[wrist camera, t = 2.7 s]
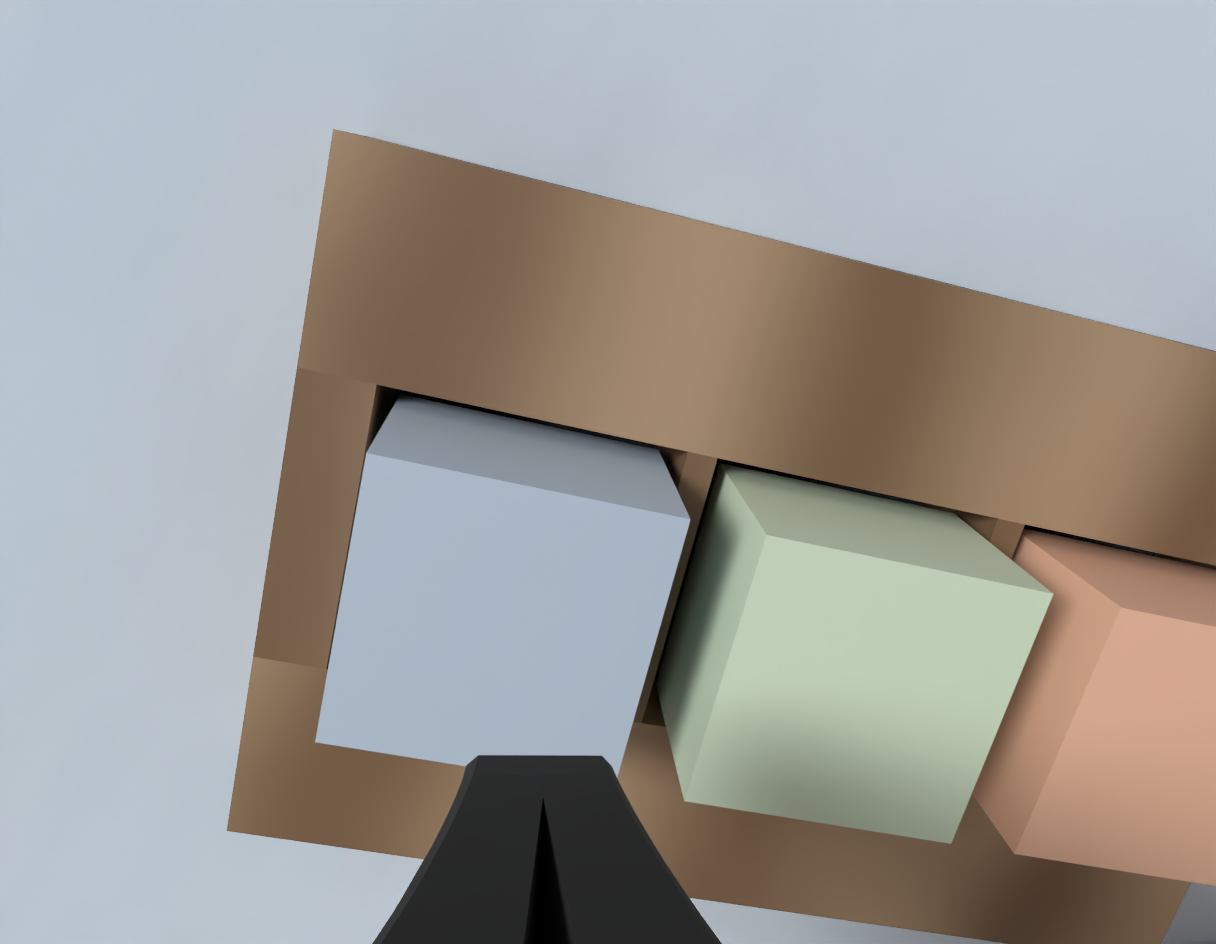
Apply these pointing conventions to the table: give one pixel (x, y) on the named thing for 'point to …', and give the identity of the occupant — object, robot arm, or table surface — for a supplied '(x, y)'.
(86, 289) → the table surface
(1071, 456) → the brown wooden tray
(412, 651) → the slate key
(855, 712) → the sage key
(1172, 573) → the terracotta key
